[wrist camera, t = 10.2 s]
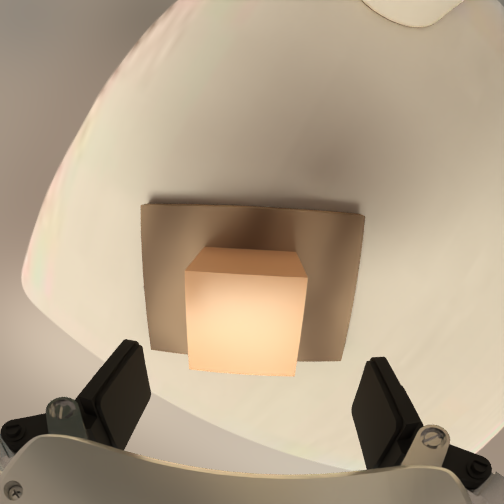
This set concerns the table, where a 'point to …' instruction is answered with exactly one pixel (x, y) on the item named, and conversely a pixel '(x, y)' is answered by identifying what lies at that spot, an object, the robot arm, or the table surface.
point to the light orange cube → (244, 311)
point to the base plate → (258, 238)
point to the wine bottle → (413, 10)
